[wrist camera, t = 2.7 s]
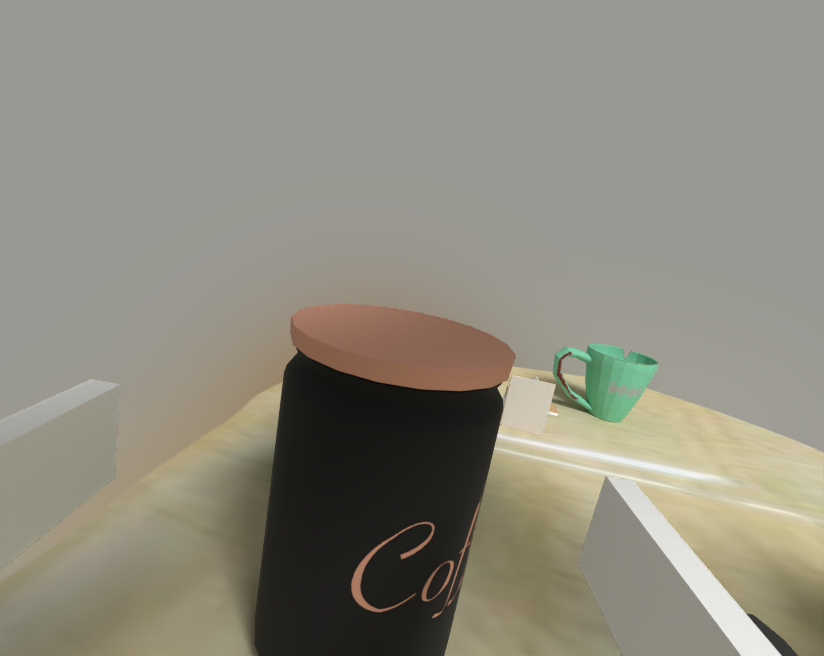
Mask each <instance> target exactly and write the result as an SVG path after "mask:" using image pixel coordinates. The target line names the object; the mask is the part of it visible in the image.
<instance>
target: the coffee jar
mask: <svg viewBox="0 0 824 656" xmlns="http://www.w3.org/2000/svg"><path fill="white" fill-rule="evenodd" d="M290 331H291V332H290V333H291V337H292V343H293V345H294V346H295V347H296V349H297V351H298V353H297V354H296V355H295V356H294V357H293V359H292V360H291V361H290V362H289V363H288V364H287V366H286V369H285V371H284V377H283V386H282V394H281V402H280V411H279V419H278V428H277V436H276V445H275V453H274V462H273V470H272V479H271V487H270V496H269V504H268V512H267V521H266V529H265V538H264V546H263V555H262V563H261V572H260V580H259V589H258V597H257V606H256V614H255V645H256V648H257V651H258V653H259V656H444V654H445V650H446V647H447V643H448V639H449V635H450V631H451V626H452V622H453V618H454V614H455V610H456V605H457V601H458V597H459V593H460V589H461V584H462V580H463V576H464V572H465V568H466V563H467V559H468V555H469V551H470V547H471V543H472V538H473V534H474V530H475V526H476V522H477V517H478V513H479V509H480V505H481V501H482V496H483V492H484V488H485V484H486V480H487V476H488V471H489V467H490V463H491V459H492V455H493V450H494V446H495V442H496V438H497V434H498V429H499V425H500V421H501V417H502V413H503V399H502V397H501V395H500V393H499V391H498V389H497V387H499V386H500V385H501V384H502V382H505V381H507V380H508V377H509V374H510V372H511V369H512V366H513V363H514V359H515V353H514V352H513V351H512V350H511V349H510V347H509V346H508V345H507V344H505V343H504V342H502V341H500V340H499V339H497V338H495V337H493V336H492V335H490V334H488V333H485V332H483V331H480V330H478V329H475V328H473V327H470V326H467V325H464V324H461V323H458V322H454V321H451V320H448V319H444V318H440V317H436V316H431V315H427V314H423V313H417V312H412V311H407V310H401V309H395V308H387V307H379V306H369V305H352V304H351V305H350V304H333V305H318V306H314V307H310V308H305V309H301V310H299V311H298V312H297V313H295V314H294V315H293V316H292V317H291V330H290Z"/></svg>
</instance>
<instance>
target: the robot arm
mask: <svg viewBox="0 0 824 656" xmlns="http://www.w3.org/2000/svg"><path fill="white" fill-rule="evenodd" d="M119 398H120V385H119V384H114V383H109V382H104V381H99V380H93V379H90V380H88V381H86V382H84V383H81V384H79V385H77V386H75V387H72V388H70V389H68V390H66V391H64V392H61V393H59V394H57V395H55V396H52V397H50V398H48V399H46V400H44V401H41V402H39V403H37V404H35V405H33V406H30V407H28V408H26V409H24V410H21V411H19V412H17V413H15V414H13V415H10V416H8V417H6V418H4V419H1V420H0V570H1V569H2V568H4V567H5V566H6V565H8V564H9V563H10V562H11V561H12V560H14V559H15V558H16V557H17V556H19V555H20V554H21V553H22V552H24V551H25V550H26V549H27V548H29V547H30V546H31V545H32V544H33V543H35V542H36V541H37V540H38V539H40V538H41V537H42V536H43V535H45V534H46V533H47V532H48V531H50V530H51V529H52V528H53V527H55V526H56V525H57V524H58V523H60V522H61V521H62V520H63V519H64V518H66V517H67V516H68V515H69V514H71V513H72V512H73V511H74V510H75V509H77V508H78V507H79V506H80V505H82V504H83V503H84V502H85V501H87V500H88V499H89V498H90V497H92V496H93V495H94V494H95V493H97V492H98V491H99V490H100V489H102V488H103V487H104V486H105V485H107V484H108V483H109V482H110V481H112V480H113V479H114V478H115V474H116V455H117V435H118V417H119ZM578 563H579V565H580V567H581V569H582V571H583V574H584V576H585V578H586V580H587V582H588V584H589V586H590V588H591V590H592V593H593V595H594V597H595V599H596V601H597V603H598V605H599V607H600V609H601V612H602V614H603V616H604V618H605V620H606V622H607V624H608V626H609V629H610V631H611V633H612V635H613V637H614V639H615V641H616V643H617V645H618V648H619V650H620V652H621V654H622V656H798V655H797V654H796V653H795V652H794V651H793V650H792V648H791V647H790V646H789V645H788V644H787V643H786V642H785V641H784V640H783V639H782V638H781V637H780V636H779V635H777V634H776V633H775V632H774V631H772V630H771V629H770V628H769V627H768V626H766V625H765V624H764V623H763V622H761V621H760V620H759V619H758V618H757V617H755V616H754V615H752V614H746V613H745V612H744V611H743V610H742V608H741V607H740V606H739V605H738V604H737V602H736V601H735V600H734V599H733V598H732V597H731V595H730V594H729V593H728V592H727V591H726V589H725V588H724V587H723V586H722V585H721V584H720V582H719V581H718V580H717V579H716V578H715V577H714V575H713V574H712V573H711V572H710V571H709V569H708V568H707V567H706V566H705V565H704V564H703V562H702V561H701V560H700V559H699V558H698V556H697V555H696V554H695V553H694V552H693V551H692V549H691V548H690V547H689V546H688V545H687V543H686V542H685V541H684V540H683V539H682V538H681V536H680V535H679V534H678V533H677V532H676V530H675V529H674V528H673V527H672V526H671V525H670V523H669V522H668V521H667V520H666V519H665V517H664V516H663V515H662V514H661V513H660V512H659V510H658V509H657V508H656V507H655V506H654V505H653V503H652V502H651V501H650V500H649V499H648V497H647V496H646V495H645V494H644V493H643V492H642V490H641V489H640V488H639V487H638V486H637V484H636V483H635V482H634V481H632V480H626V479H621V478H616V477H610V476H606V477H605V480H604V483H603V486H602V489H601V492H600V495H599V499H598V502H597V505H596V508H595V511H594V514H593V517H592V521H591V524H590V527H589V530H588V533H587V536H586V539H585V542H584V546H583V549H582V552H581V555H580V558H579V561H578Z"/></svg>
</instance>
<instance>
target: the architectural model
mask: <svg viewBox="0 0 824 656" xmlns="http://www.w3.org/2000/svg"><path fill="white" fill-rule="evenodd" d="M555 386H556V384H552V383H548V382H543V381H539V379H538V377H537V376H536V377H534V378H532V379H530V378H525V377H521V376H516V375H512V377H511V381H510V385H509V389H508V387H507V389H506V393H505V394H504V397H503V413H502V417H501V421H500V425H501V426H506V427H510V428H514V429H518V430H523V431H527V432H531V433H535V434H539V435H543V432H544V428H545V424H546V421H547V417H548V414H551V415H555V416H558V411H557V409H556V406H555V405H554V404H551V402H552V398H553V394H554V390H555ZM507 390H508V393H507Z"/></svg>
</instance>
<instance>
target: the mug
mask: <svg viewBox="0 0 824 656" xmlns="http://www.w3.org/2000/svg"><path fill="white" fill-rule="evenodd" d="M623 355H624V352H623V349H622V348H620V347H615V346H610V345H603V344H590V345H589V346H588V349H587V353H586V352H583V351H581V350H578V349H576V348H570V347H564V348H562V349H561V350H560V351H559V352H557V353H556V354H555V359H554V368H553V375H554V377H555V378H556V380H557V381H558V383H559V384H560V386H561V387H562V389H563V391H564V392H565V394H566V395H567V396H568V397H569V398H571V399H572V400H574V401H575V402H577V403H578V404H580V405H581V406H583V407H585V408H586V409H588V411H589V413H591V414H592V415H594V416H595V417H597V418H600V419H603V420H606V421H610V422H620V421H621V420H622V419H623V418H624V417H625V416H626V415H627V414H628V413H629V411H630V410H631V409H632V408H633V406H634V405H635V404H636V402H637V401H638V400H639V398H640V397H641V395H642V394H643V392H644V390H645V388H646V387H647V385H648V383H649V382H650V380H651V378H652V377H653V375H654V374H655V372H656V370H657V367H658V362H657V361H656V360H654V359H653V358H650V357H648V356H646V355H643V354H640V353H637V352H634V351H631V353H629V355H628V356H627V357H626V358H625V359H624V356H623ZM567 356H570V357H576V358H578V359H580V360H582V361H584V362H585V363H586V367H587V368H586V379H585V381H586V397H587V400H585V399H584V398H582V397H581V396H579V395H578V394H576V393H575V392H573V391H572V390H570V388H569V386H568V384H567V383H566V381H565V379H564V377H563V375H562V373H561V364H562V360H563V359H564V358H565V357H567Z"/></svg>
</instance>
